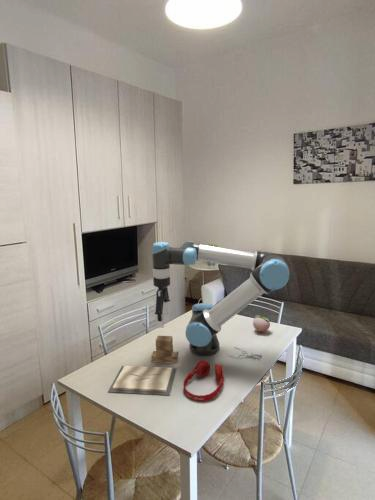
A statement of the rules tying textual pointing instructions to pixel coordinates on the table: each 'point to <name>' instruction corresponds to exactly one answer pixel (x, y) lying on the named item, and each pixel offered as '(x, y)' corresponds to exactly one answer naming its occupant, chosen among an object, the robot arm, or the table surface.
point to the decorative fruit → (261, 323)
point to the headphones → (202, 371)
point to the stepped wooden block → (164, 350)
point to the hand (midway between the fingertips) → (163, 321)
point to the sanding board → (143, 380)
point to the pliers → (249, 355)
